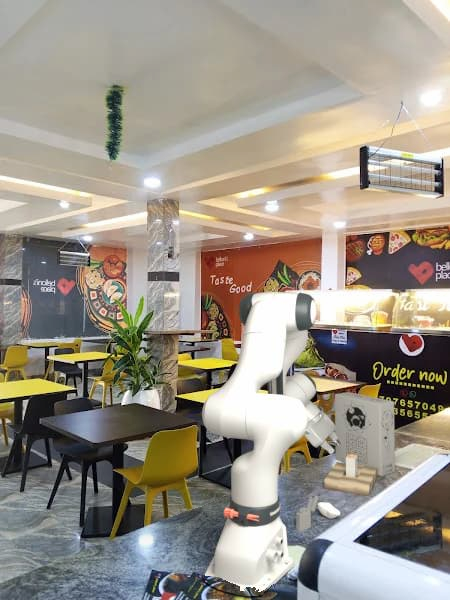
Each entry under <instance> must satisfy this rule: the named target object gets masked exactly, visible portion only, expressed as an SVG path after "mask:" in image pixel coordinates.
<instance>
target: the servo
mask: <svg viewBox="0 0 450 600" xmlns="http://www.w3.org/2000/svg"><path fill="white" fill-rule="evenodd" d="M346 476H351V477H358V474H357V455H354V454H353V453H349V454H348V455H347V457H346Z"/></svg>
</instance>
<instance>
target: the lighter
mask: <svg viewBox="0 0 450 600" xmlns="http://www.w3.org/2000/svg"><path fill="white" fill-rule="evenodd" d="M318 500H319V496H318V495H316V494H314V493H311V494H310V495H309V500H308V503H307V507H305V506H303V507H300V508H299V511H298V512H295V530H296V531H298V532H300V533H301V532H303V531H306V530H308V529H310V528H311V527H312V522H311V521H312V515H311V513H312V512H313V513H315V511H316V506H317V505H318Z"/></svg>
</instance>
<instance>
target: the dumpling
mask: <svg viewBox="0 0 450 600" xmlns="http://www.w3.org/2000/svg"><path fill="white" fill-rule="evenodd" d="M317 509H318V510H319V512H320V514H321V515H322V516H324V517H326V518H327V519H329V520H331V519H332V520H333V519H335V518H337V517H339V516H340V515H341V510H339V509H337V508H336V507H335V506H333V505H332V504H331V503H330V502H322V501H319V502H317Z"/></svg>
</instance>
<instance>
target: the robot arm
mask: <svg viewBox="0 0 450 600" xmlns="http://www.w3.org/2000/svg"><path fill="white" fill-rule="evenodd" d="M239 301H240V302H239V305H238V317H239V321H240V323H241V325H243V326H244V329H243V334H242V341H241V346H240V350H239V356H238V360H237V363H236V366H235V368H234V371H233V372H232V374H231V376H230V377H229V379H228V380H227V381H226V382H225V383H224V384H223V385H222V386H221V387H220V388H219V389H217V390H216V391H215V392H213V393H211V394H210V395H209V396H208V397H207V398H206V400H205V401H204V404H203V407H202V410H201V417H202V423H203V425H204V427H205V429H206V430H207V431H208V432H209V433H212V434H215V435H218V436H221V437H223V438H230V439H240V440H250V441H251V442H253V450H251V451H248V452H246V453H244V454H241V455H240V456H239V457H237V458H235V460H234V461H233V462H232V466H231V469H230V472H231V473H230V476H231V477H230V479H231V480H230V481H231V482H230V483H231V484H230V485H231V489H230V490H231V495H230V497H229V502H228V506H227V507H225V508H224V511H223V516H224V518H227V519H226V521H225V524H224V526H223V528H222V531H221V534H220V537H219V539H218V542H217V544H216V548H215V551H214V556H213V558H212V559H211V561H210V563H209V565H208V567H207V569H206V570H205V573H204V575H205V576H216V577H220V578H222V579H223V580H226V581H228V582H230V583H233V584H236V585H238V586H240V591H245V590H244V589H245V588H246V587H251V588H253V587H255V588H256V590H258V589H259V591H258V592H261V591H263V590H265V589H266V588H268V587H269V586H271V585H273V584H274V585H275V584H276V583H277V582H279V580H281V579H282V578H283V577H284V576H285V575H286V574H287V573H288V572H289V571H290V570H291V569H292V568H293V567H294V566H295V561H294V559H293V558H292V557H291V556H290V555H289V550H288V537H287V536H288V535H287V527H286V525H285V524H284V522H283V521H282V519H281V516H280V515H281V499H280V496H279V489H278V488H279V486H278V485H279V475H280V474H279V472H280V465H281V462H282V459H283V457H284V455H285V454H286V452H287V451H288V449H290V447H291V446H293V445H294V444H296V443H297V442H298V441H300V440H301V438H303V436H304V437H305V438H306V439H307V441H308V442H309V443H310V444H311V445H312V447H314V448H319V446H320V447H321V448H322V449H323V450H326V452H328V454H329V455H332V454H333V453H335V452H336V448H335V447H336V446H339V445H340V444H341V441H340V440H339V439H338V437H337V435H336V433H335V429H336V427H335V422H334V421H333V420H331V417H329V415H327V414H326V412H324V408H323V407H321V406H320V405H316V404H314V403H313V402H312V401H311V400H312V399H313V398H314V397H315V395H316V393H317V385H316V382H315V380H314V379H313V378H312V377H311V376H310V375H308V374H307V373H303V372H298V373H296V374H293V375H291V376H287V374H288V371H289V370H290V369H291V366H292V365H293V364H294V362H295V361H297V359H298V358H299V357H300V356H301V354H302V353H303V352H304V351H305V350H306V348H307V345H308V339H309V333H308V330H310V329H311V328H313V327H314V325H315V322H316V320H317V315H318V308H317V305H316V300H315V298H314V297H312V296H311V295H310V294H309V293H304V292H298V293H296V292H289V291H288V292H284V291H281V292H280V291H265V292H264V291H263V292H255V291H254V292H249V293H246V294H245V295H243V297H241V298H240V300H239ZM266 384H267V393H259V390H260V389H261V388H262V387H263V386H264V385H266ZM328 438H330V439H331V440H332V441H333V444H334V445H335V447H333V446H332V445H330V444H329V443H328V441H327V440H326V439H328ZM274 585H273V586H274ZM256 590H255V591H256Z"/></svg>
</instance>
